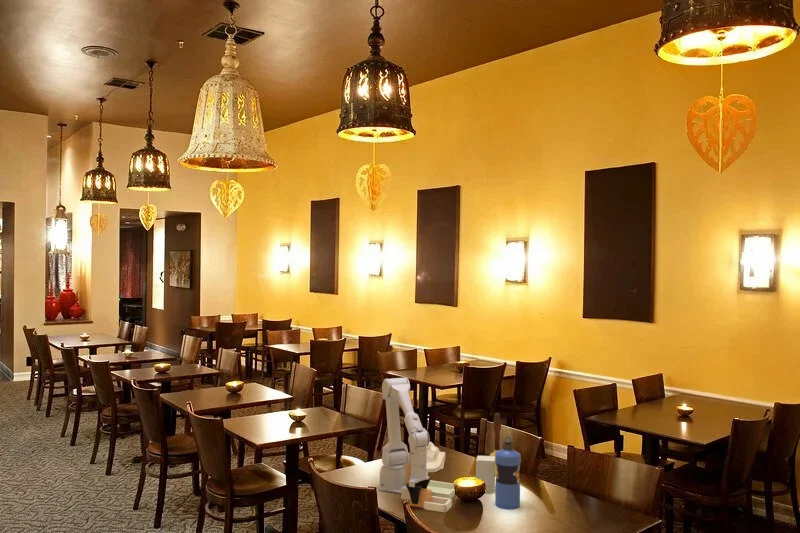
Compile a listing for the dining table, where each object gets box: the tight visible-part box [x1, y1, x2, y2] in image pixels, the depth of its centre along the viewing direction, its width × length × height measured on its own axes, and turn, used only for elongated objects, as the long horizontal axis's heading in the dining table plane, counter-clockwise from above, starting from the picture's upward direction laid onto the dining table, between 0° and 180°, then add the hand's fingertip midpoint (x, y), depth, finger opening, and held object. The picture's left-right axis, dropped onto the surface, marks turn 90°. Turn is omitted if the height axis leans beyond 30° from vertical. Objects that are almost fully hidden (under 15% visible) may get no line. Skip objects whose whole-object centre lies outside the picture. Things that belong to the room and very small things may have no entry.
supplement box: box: [475, 455, 496, 494], centre depth 261 cm, size 7×7×13 cm
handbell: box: [489, 412, 502, 476], centre depth 286 cm, size 12×12×25 cm
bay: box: [423, 496, 453, 514], centre depth 241 cm, size 8×8×2 cm
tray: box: [427, 479, 456, 500], centre depth 257 cm, size 18×13×3 cm
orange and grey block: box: [400, 487, 432, 509], centre depth 245 cm, size 11×4×6 cm, turn 68°
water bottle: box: [494, 436, 522, 510], centre depth 244 cm, size 9×9×25 cm
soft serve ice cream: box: [426, 441, 446, 473], centre depth 287 cm, size 12×15×14 cm
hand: (418, 500), depth 244 cm, fingers open, 7 cm apart
